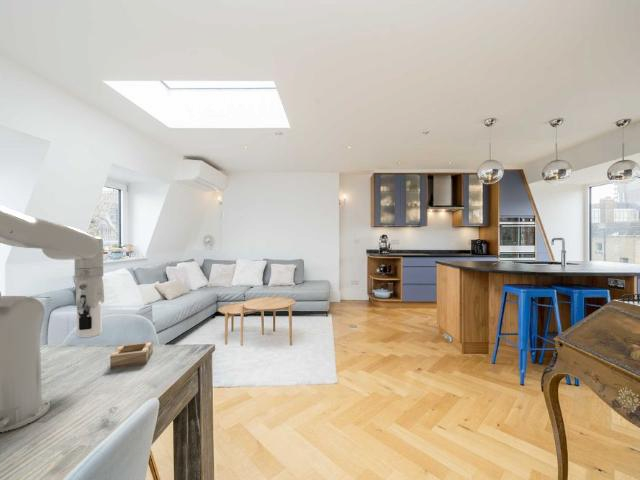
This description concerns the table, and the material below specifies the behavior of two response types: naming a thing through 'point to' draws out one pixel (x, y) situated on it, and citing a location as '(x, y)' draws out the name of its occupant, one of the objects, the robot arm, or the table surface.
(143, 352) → the socket block
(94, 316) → the can
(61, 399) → the table surface
